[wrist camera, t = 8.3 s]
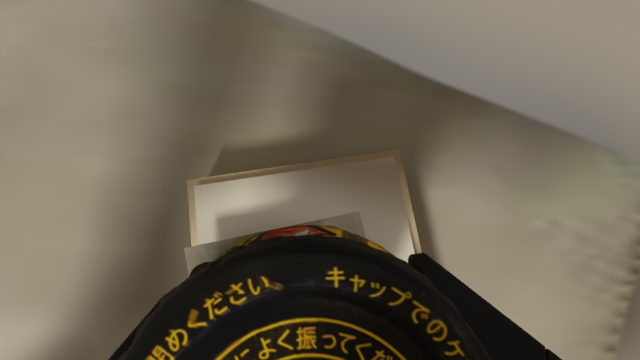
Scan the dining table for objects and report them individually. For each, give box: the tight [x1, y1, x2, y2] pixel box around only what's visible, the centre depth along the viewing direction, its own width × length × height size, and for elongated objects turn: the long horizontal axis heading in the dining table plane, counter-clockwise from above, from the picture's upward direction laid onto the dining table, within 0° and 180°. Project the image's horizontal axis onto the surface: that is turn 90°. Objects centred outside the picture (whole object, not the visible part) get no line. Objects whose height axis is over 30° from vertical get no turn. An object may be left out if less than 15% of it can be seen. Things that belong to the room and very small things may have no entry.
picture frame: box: [187, 149, 422, 263], centre depth 18 cm, size 14×12×3 cm
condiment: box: [118, 211, 492, 360], centre depth 9 cm, size 7×8×12 cm
